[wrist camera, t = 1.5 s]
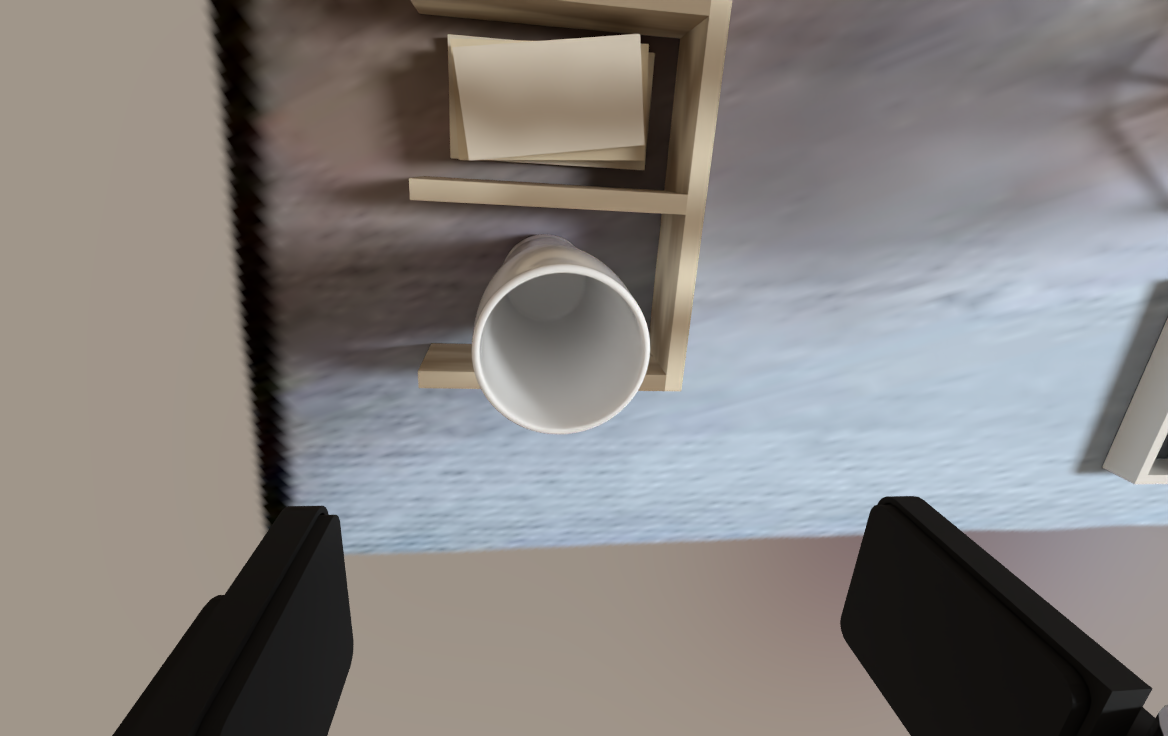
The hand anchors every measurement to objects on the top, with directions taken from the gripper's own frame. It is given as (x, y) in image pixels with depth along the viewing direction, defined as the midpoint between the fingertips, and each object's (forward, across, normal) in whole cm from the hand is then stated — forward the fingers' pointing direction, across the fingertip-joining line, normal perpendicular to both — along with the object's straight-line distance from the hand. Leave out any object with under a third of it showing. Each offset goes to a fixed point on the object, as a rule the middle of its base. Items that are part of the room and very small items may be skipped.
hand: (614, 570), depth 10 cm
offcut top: (+24, 0, -10) cm, 26 cm away
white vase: (+26, 0, 0) cm, 27 cm away
